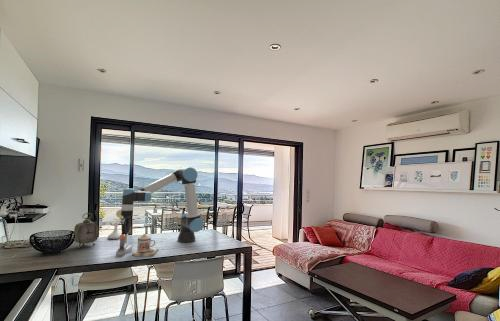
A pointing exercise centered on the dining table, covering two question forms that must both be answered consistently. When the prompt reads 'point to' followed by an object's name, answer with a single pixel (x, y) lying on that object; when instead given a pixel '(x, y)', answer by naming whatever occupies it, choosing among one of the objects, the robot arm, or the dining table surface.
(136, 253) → the press bed
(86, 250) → the dining table surface
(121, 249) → the lever handle
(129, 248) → the lever track
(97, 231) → the tabletop clock
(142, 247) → the teacup with lid
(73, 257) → the dining table surface
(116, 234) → the flower in vase
